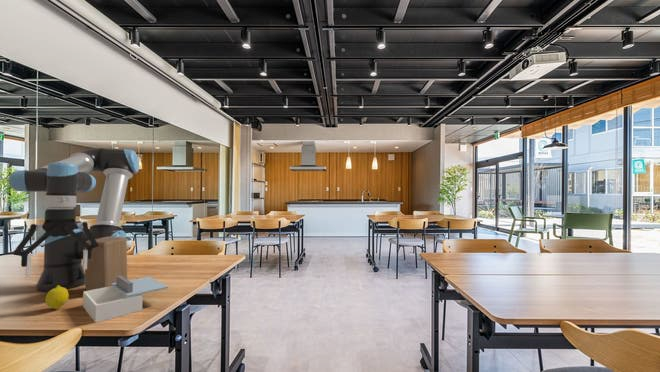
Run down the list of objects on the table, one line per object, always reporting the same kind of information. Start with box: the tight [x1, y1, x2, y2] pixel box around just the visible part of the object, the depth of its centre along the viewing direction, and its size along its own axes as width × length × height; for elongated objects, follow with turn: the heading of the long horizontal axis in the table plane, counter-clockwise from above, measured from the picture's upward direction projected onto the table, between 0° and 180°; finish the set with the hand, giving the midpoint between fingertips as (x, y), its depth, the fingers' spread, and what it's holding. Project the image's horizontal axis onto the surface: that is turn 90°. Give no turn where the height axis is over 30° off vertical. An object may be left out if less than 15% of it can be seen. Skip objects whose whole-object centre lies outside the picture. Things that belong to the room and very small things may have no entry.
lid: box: [112, 275, 169, 297], centre depth 100 cm, size 19×12×4 cm, turn 50°
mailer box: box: [82, 286, 144, 324], centre depth 94 cm, size 19×12×5 cm, turn 50°
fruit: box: [44, 285, 70, 310], centre depth 93 cm, size 6×6×8 cm
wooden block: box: [84, 237, 128, 291], centre depth 113 cm, size 10×10×20 cm
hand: (57, 272), depth 93 cm, fingers open, 13 cm apart
